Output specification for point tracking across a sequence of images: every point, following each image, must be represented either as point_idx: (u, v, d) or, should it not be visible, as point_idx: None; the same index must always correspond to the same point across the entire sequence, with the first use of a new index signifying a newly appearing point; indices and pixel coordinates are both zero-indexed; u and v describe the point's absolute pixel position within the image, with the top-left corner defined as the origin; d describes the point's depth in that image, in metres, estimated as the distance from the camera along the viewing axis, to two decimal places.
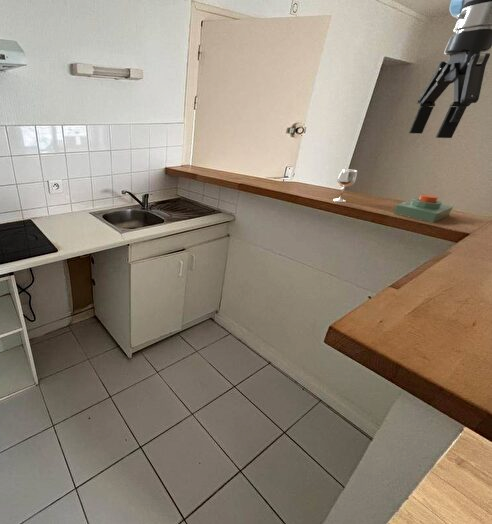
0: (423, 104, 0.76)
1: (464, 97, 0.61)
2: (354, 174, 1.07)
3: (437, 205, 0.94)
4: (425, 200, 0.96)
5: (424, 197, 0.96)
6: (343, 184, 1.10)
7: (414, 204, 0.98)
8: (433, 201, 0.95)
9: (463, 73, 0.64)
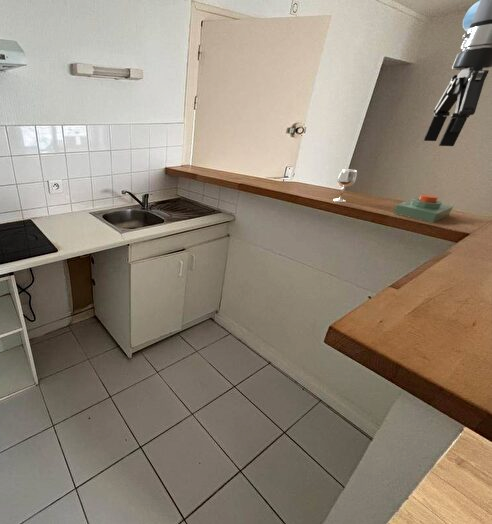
0: (437, 114, 0.81)
1: (461, 110, 0.68)
2: (354, 174, 1.07)
3: (437, 205, 0.94)
4: (425, 200, 0.96)
5: (424, 197, 0.96)
6: (343, 184, 1.10)
7: (414, 204, 0.98)
8: (433, 201, 0.95)
9: None
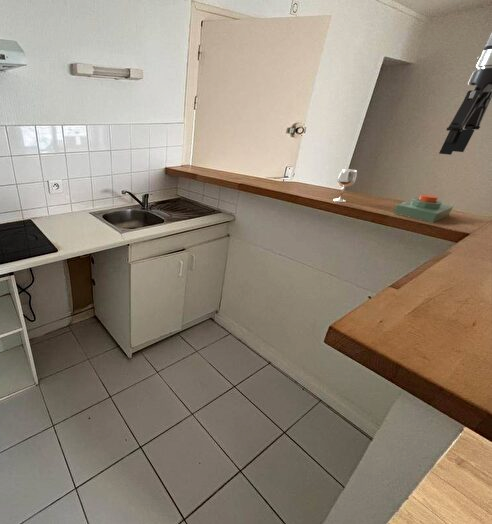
0: (466, 127, 0.89)
1: (450, 124, 0.83)
2: (354, 174, 1.07)
3: (437, 205, 0.94)
4: (425, 200, 0.96)
5: (424, 197, 0.96)
6: (343, 184, 1.10)
7: (414, 204, 0.98)
8: (433, 201, 0.95)
9: None
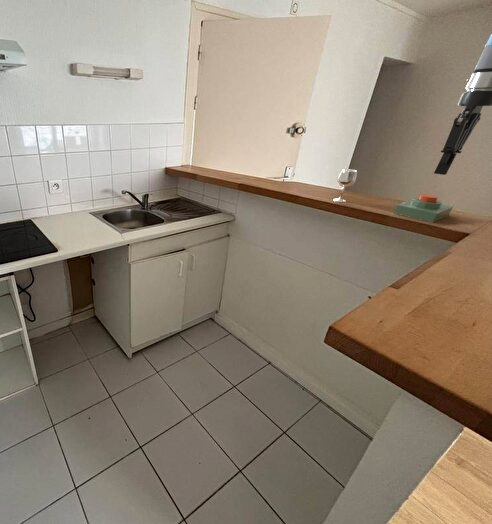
0: None
1: (443, 148, 0.88)
2: (354, 174, 1.07)
3: (437, 205, 0.94)
4: (425, 200, 0.96)
5: (424, 197, 0.96)
6: (343, 184, 1.10)
7: (414, 204, 0.98)
8: (433, 201, 0.95)
9: None
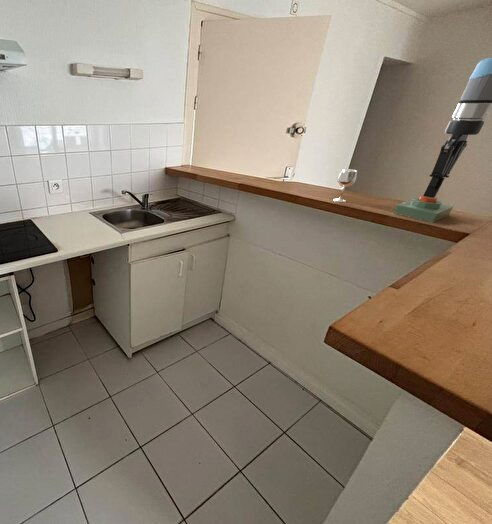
0: None
1: (432, 173, 0.92)
2: (354, 174, 1.07)
3: (437, 205, 0.94)
4: (424, 201, 0.96)
5: (423, 198, 0.96)
6: (343, 184, 1.10)
7: (414, 204, 0.98)
8: (432, 202, 0.95)
9: None
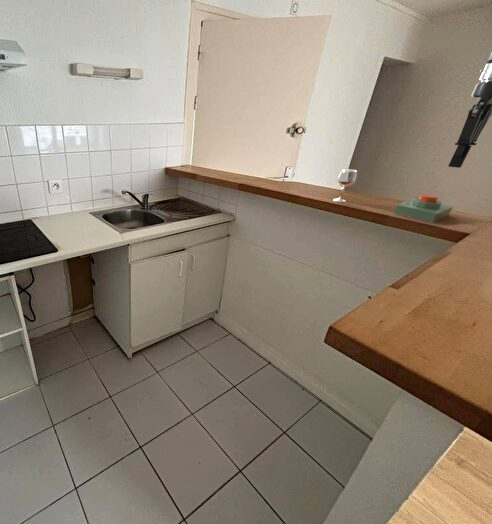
0: None
1: (458, 140, 0.87)
2: (354, 174, 1.07)
3: (437, 205, 0.94)
4: (425, 200, 0.96)
5: (424, 197, 0.96)
6: (343, 184, 1.10)
7: (414, 204, 0.98)
8: (433, 201, 0.95)
9: None
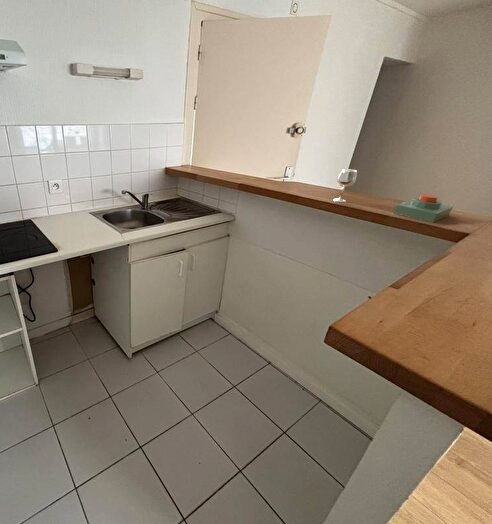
0: None
1: None
2: (354, 174, 1.07)
3: (437, 205, 0.94)
4: (425, 200, 0.96)
5: (424, 197, 0.96)
6: (343, 184, 1.10)
7: (414, 204, 0.98)
8: (433, 201, 0.95)
9: None
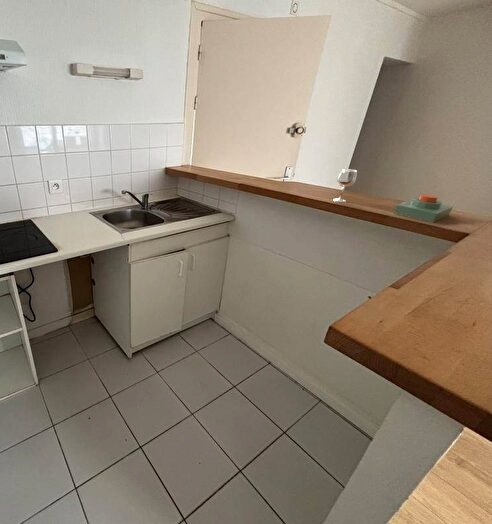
0: None
1: None
2: (354, 174, 1.07)
3: (437, 205, 0.94)
4: (425, 200, 0.96)
5: (424, 197, 0.96)
6: (343, 184, 1.10)
7: (414, 204, 0.98)
8: (433, 201, 0.95)
9: None
